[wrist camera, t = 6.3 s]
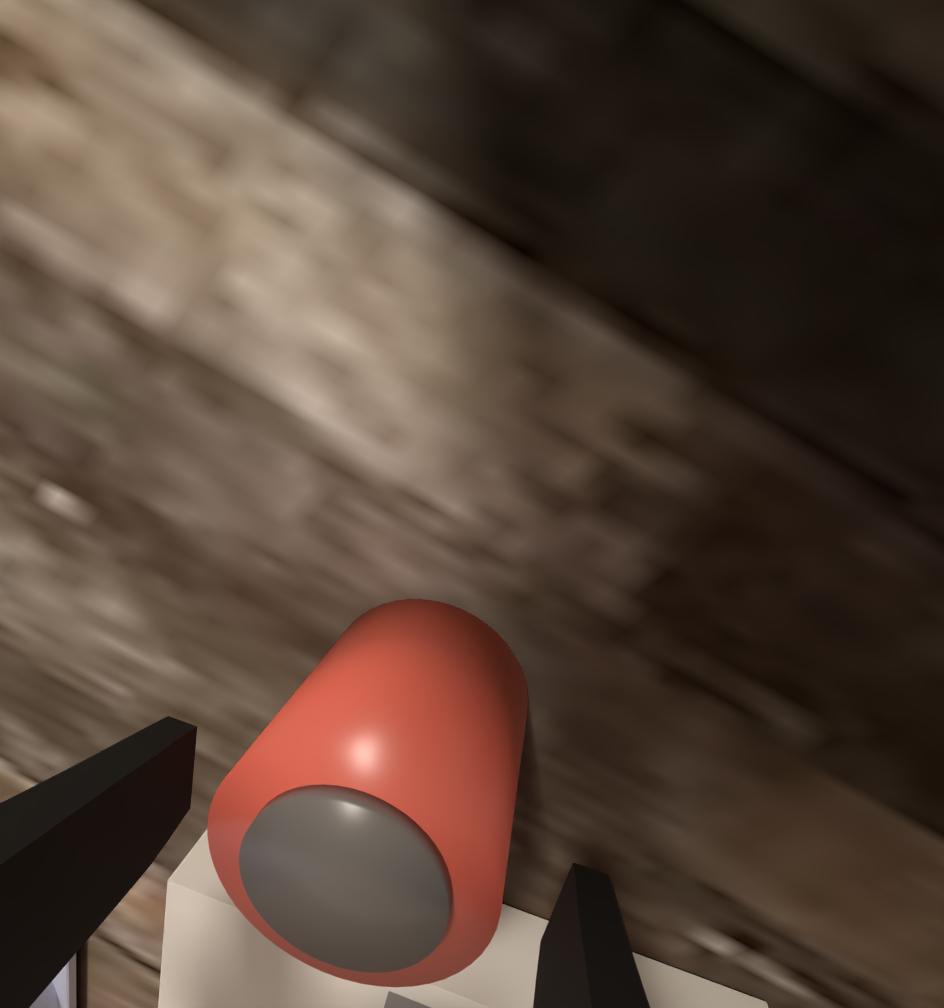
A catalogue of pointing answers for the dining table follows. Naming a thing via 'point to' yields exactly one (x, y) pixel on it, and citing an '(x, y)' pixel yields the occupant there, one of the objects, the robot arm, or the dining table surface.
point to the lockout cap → (382, 800)
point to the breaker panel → (345, 1004)
